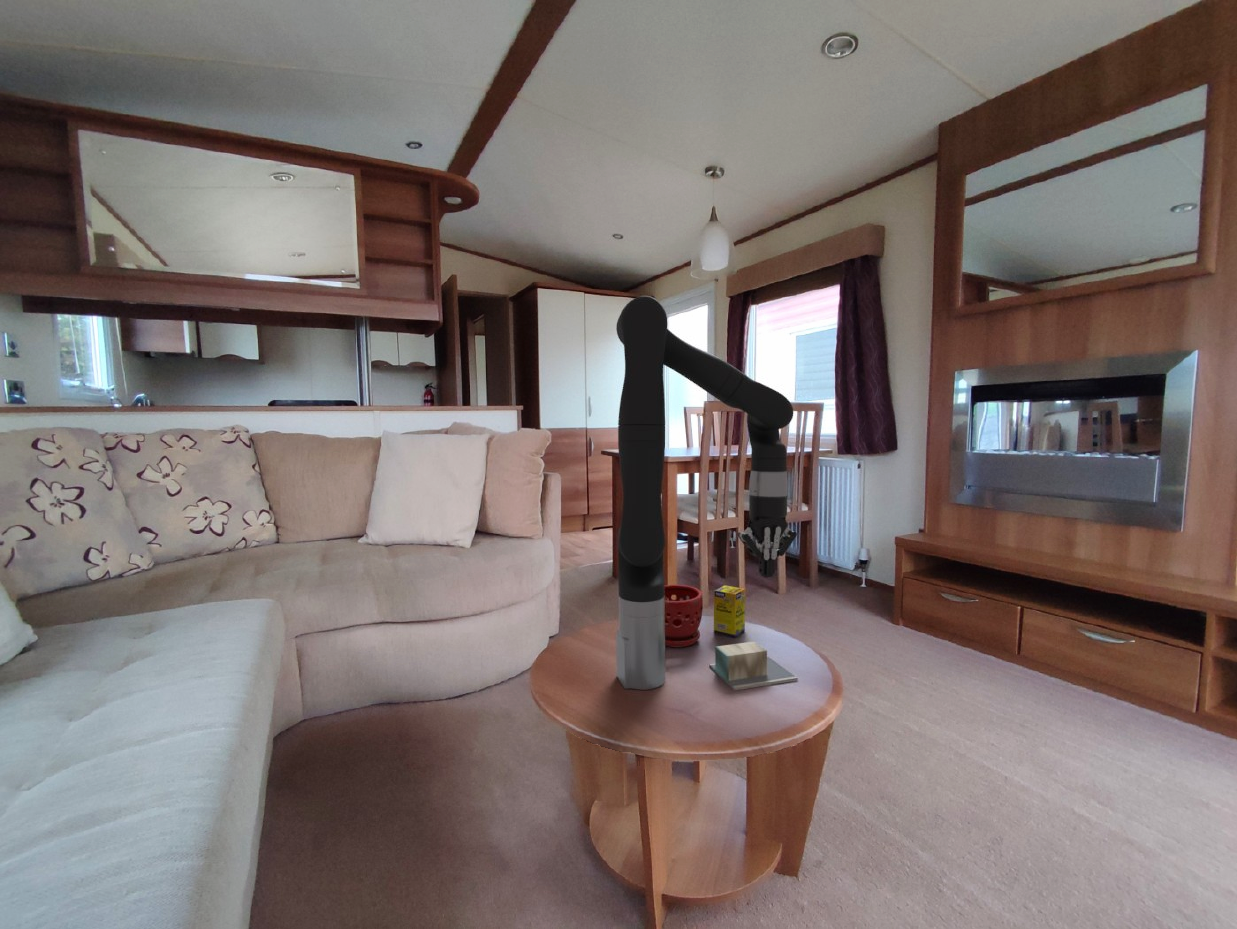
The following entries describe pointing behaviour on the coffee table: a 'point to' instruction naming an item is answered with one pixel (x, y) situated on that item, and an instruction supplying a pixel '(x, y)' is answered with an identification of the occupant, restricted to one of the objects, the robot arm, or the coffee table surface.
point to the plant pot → (682, 615)
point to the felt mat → (762, 677)
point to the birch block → (740, 661)
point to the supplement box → (729, 611)
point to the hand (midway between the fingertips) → (766, 576)
